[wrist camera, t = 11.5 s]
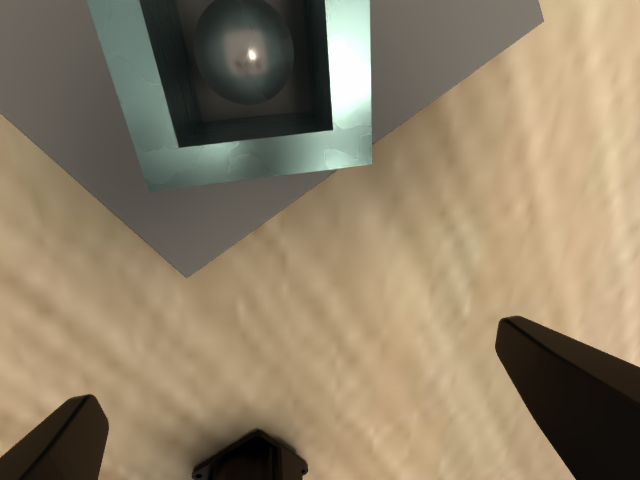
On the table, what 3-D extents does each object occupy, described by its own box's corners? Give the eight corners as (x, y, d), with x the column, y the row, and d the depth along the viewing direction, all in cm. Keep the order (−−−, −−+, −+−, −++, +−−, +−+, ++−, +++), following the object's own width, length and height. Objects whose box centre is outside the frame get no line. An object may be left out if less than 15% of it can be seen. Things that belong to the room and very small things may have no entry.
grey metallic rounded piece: (243, 111, 15) (239, 124, 12) (192, 43, 13) (171, 37, 10) (301, 65, 14) (312, 66, 11) (254, -10, 13) (251, -32, 10)
